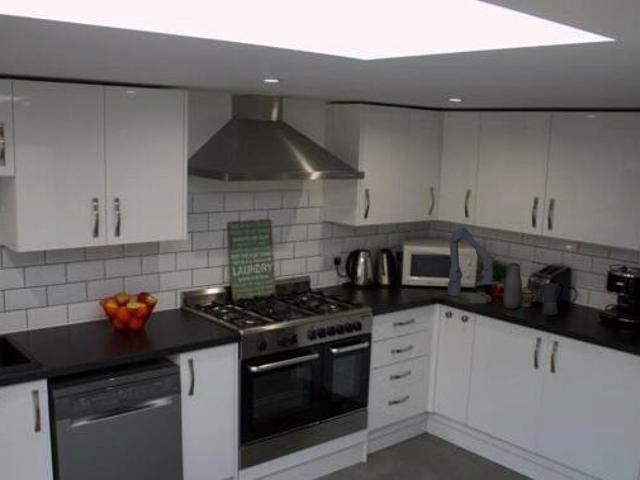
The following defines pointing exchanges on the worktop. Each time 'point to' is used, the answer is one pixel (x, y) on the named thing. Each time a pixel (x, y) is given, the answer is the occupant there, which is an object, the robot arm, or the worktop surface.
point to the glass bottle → (512, 286)
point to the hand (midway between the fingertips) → (487, 296)
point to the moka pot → (550, 297)
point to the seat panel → (473, 297)
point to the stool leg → (488, 298)
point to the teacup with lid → (526, 297)
